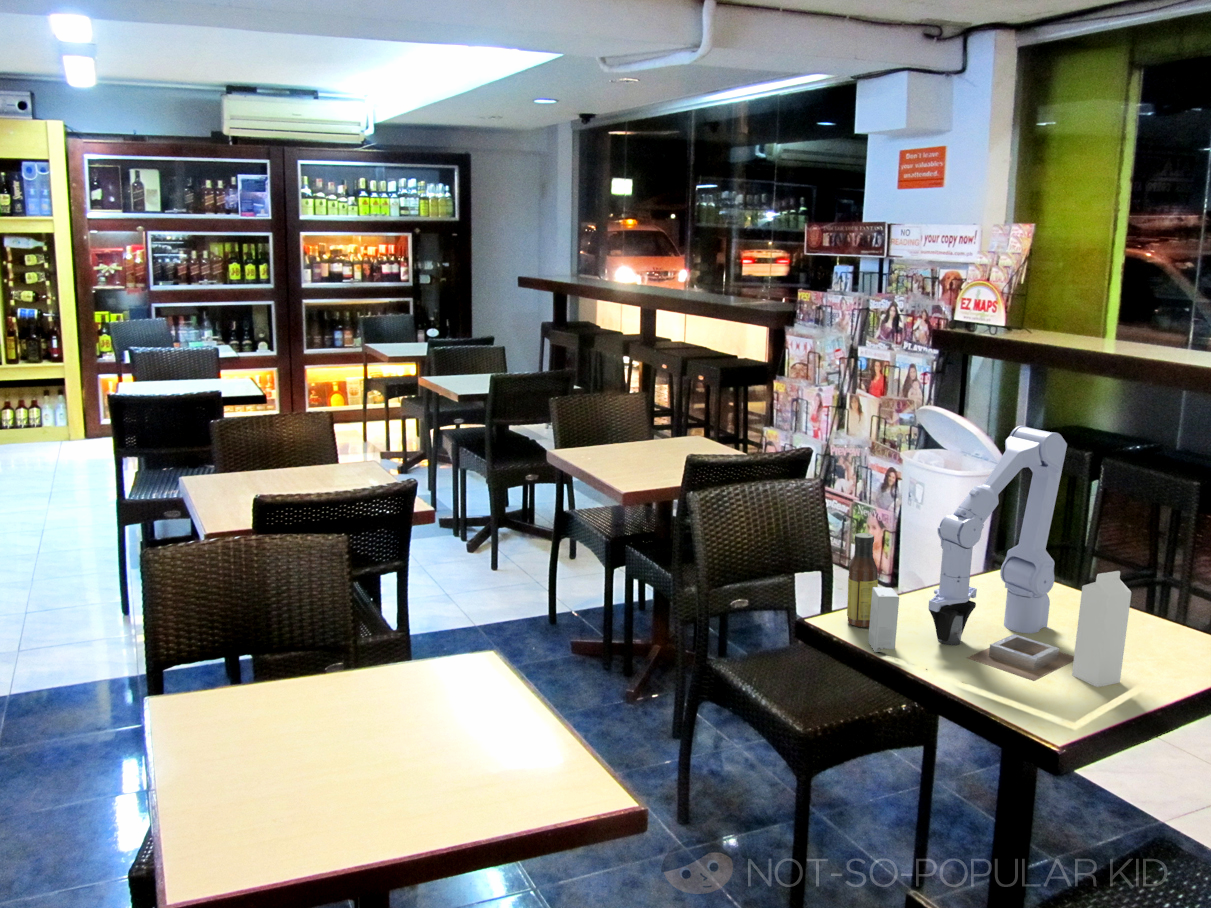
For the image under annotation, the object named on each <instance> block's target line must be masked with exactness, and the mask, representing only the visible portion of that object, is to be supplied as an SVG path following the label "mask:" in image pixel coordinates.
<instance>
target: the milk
mask: <svg viewBox="0 0 1211 908" xmlns="http://www.w3.org/2000/svg"><path fill="white" fill-rule="evenodd" d="M1120 576H1121V571H1120V570H1115V571H1109V572H1101V573H1097V575H1096V578H1095V582H1090V583H1088V584H1084V585H1082V586H1081V596H1080V602H1079V603H1080V604H1079V611H1078V612H1079V613H1078V621H1077V630H1076V636H1075V637H1076V638H1075V645H1074V646H1075V647H1074V655H1073V656H1074V661H1073V662H1072V671H1071V675H1072V676H1073V677H1075V678H1076V679H1079V680H1081V681H1083V682H1085V683H1086V684H1089V685H1092V686H1093V687H1095V688H1101V687H1105V686H1109V685H1115V684H1119V683H1121V677H1122V668H1123V661H1124V653H1125V646H1126V639H1127V638H1126V637H1127V632H1128V631H1127V630H1128V623H1129V621H1128V620H1129V614H1130V606H1131V598H1132V591H1131V590H1130V588H1128V586H1127V585H1126V584H1125V583H1124V582H1123V581H1122V580H1121V577H1120Z"/></svg>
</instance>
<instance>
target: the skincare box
mask: <svg viewBox="0 0 1211 908" xmlns="http://www.w3.org/2000/svg"><path fill="white" fill-rule="evenodd" d="M899 603H900V596H899V595H898V593H897V592H896V591H895V590H894V589H893V588H892V587H883V586H882V587H879V586H878V587H873V588H872V600H871V612H870V625H869V627H868V628H869V629H868V638H867V639H868V640H867V642H868V644H869V645H871V646H870V647H871V649H872V648H873V649H872V651H873V650H874V651H875V652H874V651H873V652H874V653H876V652H881V650H895V649H896V642H897V641H896V639H897V628H898V617H899V616H898V614H899V605H900V604H899Z"/></svg>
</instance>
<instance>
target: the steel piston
mask: <svg viewBox="0 0 1211 908" xmlns="http://www.w3.org/2000/svg"><path fill="white" fill-rule="evenodd" d="M953 611H954V610H953ZM956 612H958V611H956ZM962 623H963V614H962V613H961V612H958V613H957V615H956V616H955V618H954V620H953V623H952V626H951V631H950V636H949V639H948V641H946V642H945V641H942V640H939V639H937V641H938V643H940V644H942V645H945V646H959V645H961V641H962V635H961V633H962ZM962 634H963V633H962Z"/></svg>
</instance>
